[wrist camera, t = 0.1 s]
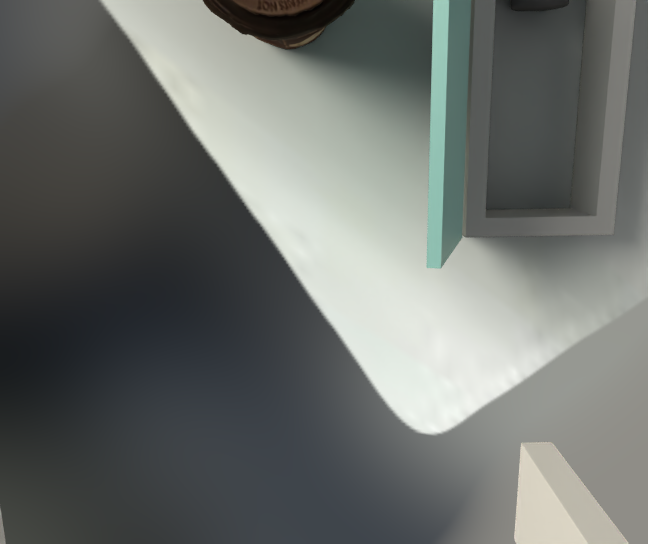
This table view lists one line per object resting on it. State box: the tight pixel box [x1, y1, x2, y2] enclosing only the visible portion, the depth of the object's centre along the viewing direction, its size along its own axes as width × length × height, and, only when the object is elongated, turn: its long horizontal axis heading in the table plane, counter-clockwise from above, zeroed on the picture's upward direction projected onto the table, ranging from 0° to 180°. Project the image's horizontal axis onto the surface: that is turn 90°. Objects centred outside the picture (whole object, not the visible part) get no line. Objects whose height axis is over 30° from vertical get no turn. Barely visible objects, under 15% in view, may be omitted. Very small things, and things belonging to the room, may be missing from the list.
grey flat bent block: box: [462, 0, 636, 237], centre depth 38 cm, size 18×9×4 cm, turn 1°
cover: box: [427, 0, 471, 268], centre depth 32 cm, size 18×9×1 cm
